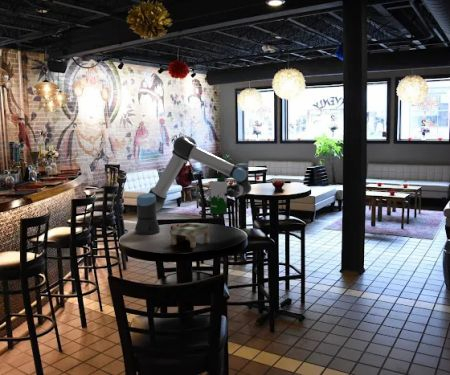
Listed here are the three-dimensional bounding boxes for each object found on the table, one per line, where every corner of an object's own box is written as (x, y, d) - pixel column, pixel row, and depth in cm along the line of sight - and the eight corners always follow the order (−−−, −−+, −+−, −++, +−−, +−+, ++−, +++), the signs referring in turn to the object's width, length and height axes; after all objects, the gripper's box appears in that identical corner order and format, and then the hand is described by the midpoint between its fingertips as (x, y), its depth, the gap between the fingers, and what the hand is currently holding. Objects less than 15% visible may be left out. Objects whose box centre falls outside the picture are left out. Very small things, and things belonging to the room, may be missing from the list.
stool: (170, 244, 251) (169, 227, 250) (187, 238, 265) (187, 222, 264) (193, 248, 243) (193, 230, 242) (210, 241, 256) (210, 225, 255)
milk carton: (229, 212, 264) (229, 178, 262) (218, 214, 258) (218, 179, 255) (218, 211, 270) (217, 177, 268) (207, 213, 263) (207, 178, 261)
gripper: (249, 197, 273) (230, 202, 254) (219, 195, 284) (198, 200, 265) (249, 185, 272) (229, 189, 253) (219, 183, 283) (198, 187, 264)
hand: (213, 194), depth 259 cm, fingers closed on milk carton, 9 cm apart
